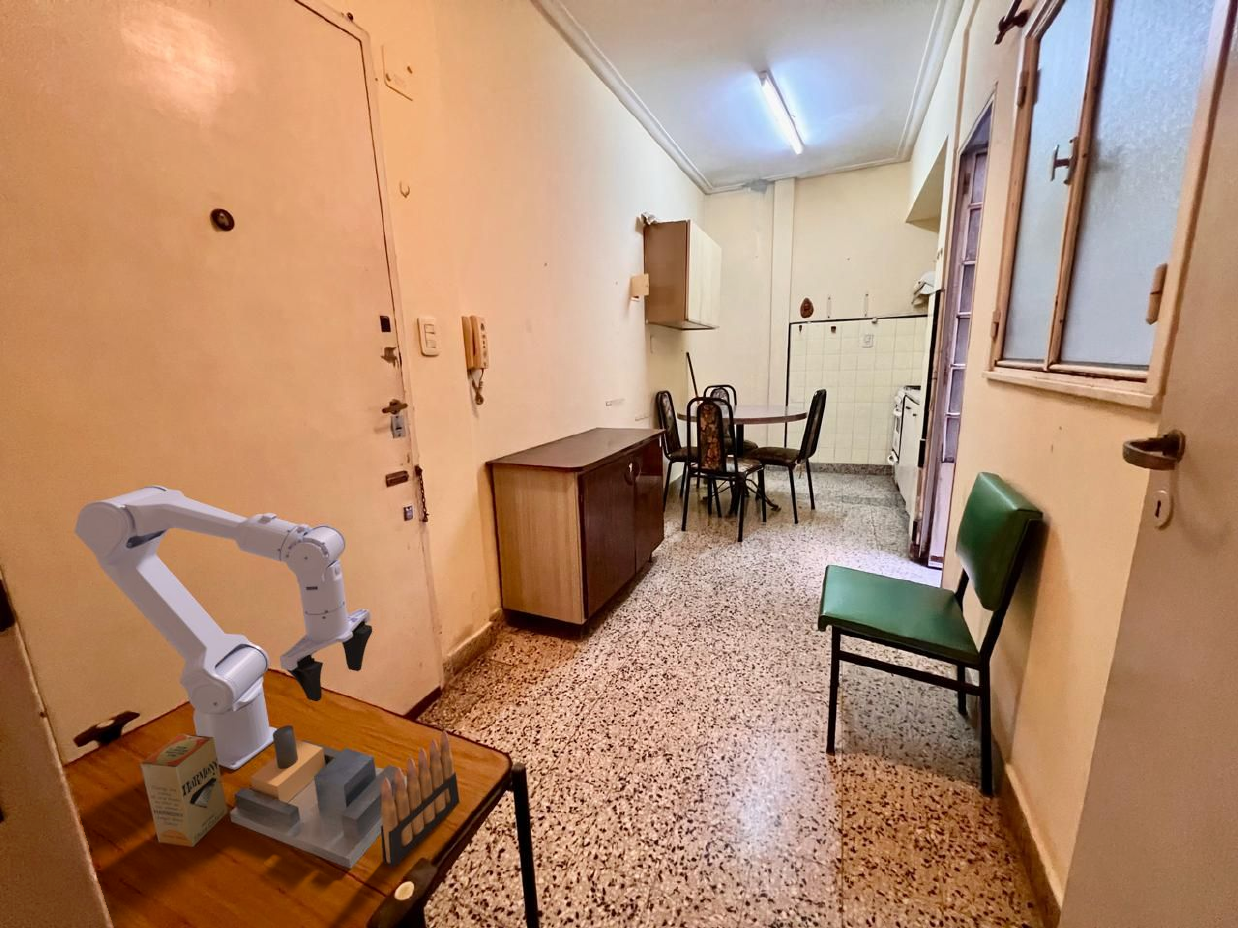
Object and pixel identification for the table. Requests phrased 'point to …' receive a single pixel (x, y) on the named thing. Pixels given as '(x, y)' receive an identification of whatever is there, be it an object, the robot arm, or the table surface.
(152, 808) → the shoe polish box
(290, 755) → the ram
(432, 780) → the ammunition clip
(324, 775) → the housing
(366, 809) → the frame
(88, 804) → the table surface
